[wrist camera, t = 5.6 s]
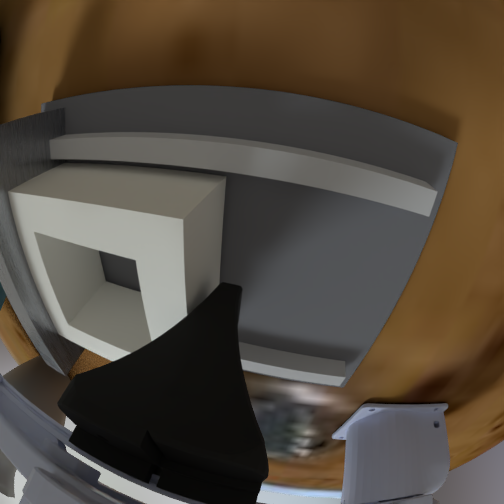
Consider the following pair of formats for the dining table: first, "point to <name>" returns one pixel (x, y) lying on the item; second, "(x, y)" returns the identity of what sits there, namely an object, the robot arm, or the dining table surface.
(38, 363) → the vase
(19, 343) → the dining table surface
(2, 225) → the stop wall
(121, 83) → the dining table surface
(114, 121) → the slide board
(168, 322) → the sliding block
